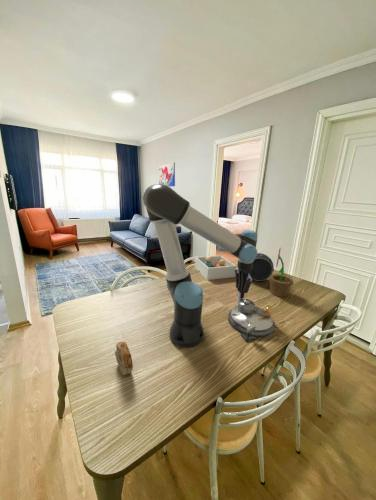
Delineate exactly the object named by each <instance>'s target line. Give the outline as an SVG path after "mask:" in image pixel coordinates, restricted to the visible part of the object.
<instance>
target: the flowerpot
mask: <svg viewBox="0 0 376 500" xmlns="http://www.w3.org/2000/svg"><path fill="white" fill-rule="evenodd" d="M281 248H282V247H279V250H278V255H277V259H276V260H277V261H276V268H278V264H279V260H280V262H281V268H280V269H279V270H278V272H279V273H280V274H277V273H274V274H273V273H272V275H270V276H269V278H268V281H269V282H270V284H269V292H270V294H271V295H273V296H275V297H279V298H286V297H287V295H288V293H289V291H290V288H291V287H292V286H293V285H294V280H293V278H291V277H289V276H287V275H284V273H285V269H284V267H285V266H284V265H285V264H284V261H283V259H282V257H281V256H280V254H281Z"/></svg>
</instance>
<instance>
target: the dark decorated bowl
mask: <svg viewBox="0 0 376 500" xmlns="http://www.w3.org/2000/svg"><path fill="white" fill-rule="evenodd" d="M274 266H275V265H274V262H273V260H272V258H271V257H269V256H268V255H266V254H265V253H262V252H261V253H260V252H257V256H256V258H255V259H254V261H253V268H252V270H251V271H250V273H251V275H250V276H251V278H253V281H255V282H262V281H263V282H264V281H266V280H267V279H268V280H269V276H270V275H273V273H274V271H275V269H274Z"/></svg>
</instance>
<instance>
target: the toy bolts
mask: <svg viewBox="0 0 376 500" xmlns="http://www.w3.org/2000/svg"><path fill="white" fill-rule="evenodd" d="M205 257H206V256H205ZM204 264H205V265H206V266H207V267H209V268H211V266H212V263H211V258H210V257H206V259H205V262H204ZM223 266H226V265H225V261H224V260H220V261H219V263H218V264H217V265H216V266H215V267H223Z"/></svg>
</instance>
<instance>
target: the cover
mask: <svg viewBox="0 0 376 500" xmlns="http://www.w3.org/2000/svg"><path fill="white" fill-rule="evenodd" d="M237 304H238V305H237V306H238V311H239V312H241V313H243V314H246V315H251V314H253V313H254V307H255V306H256V304H255V302H254V301H252V300H250V299H249V298H248V299H247V298H243V299H241V300H239V303H237Z"/></svg>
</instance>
